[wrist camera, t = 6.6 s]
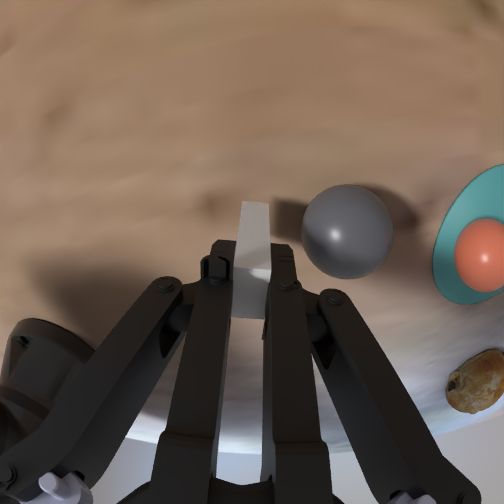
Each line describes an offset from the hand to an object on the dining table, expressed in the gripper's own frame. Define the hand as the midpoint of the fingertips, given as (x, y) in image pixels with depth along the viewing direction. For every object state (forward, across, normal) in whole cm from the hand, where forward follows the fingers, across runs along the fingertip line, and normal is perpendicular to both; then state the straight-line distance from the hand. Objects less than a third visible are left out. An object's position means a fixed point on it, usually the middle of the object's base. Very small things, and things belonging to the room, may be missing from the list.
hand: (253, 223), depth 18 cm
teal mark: (+2, -21, 0) cm, 21 cm away
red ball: (-1, -17, 0) cm, 17 cm away
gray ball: (-1, -6, 0) cm, 6 cm away
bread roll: (+2, -32, +19) cm, 37 cm away
